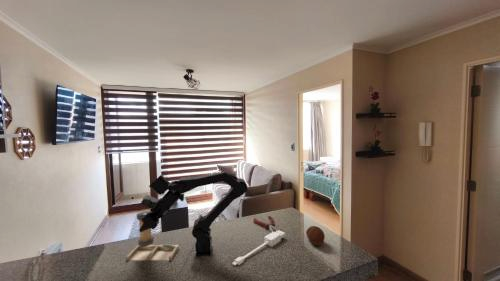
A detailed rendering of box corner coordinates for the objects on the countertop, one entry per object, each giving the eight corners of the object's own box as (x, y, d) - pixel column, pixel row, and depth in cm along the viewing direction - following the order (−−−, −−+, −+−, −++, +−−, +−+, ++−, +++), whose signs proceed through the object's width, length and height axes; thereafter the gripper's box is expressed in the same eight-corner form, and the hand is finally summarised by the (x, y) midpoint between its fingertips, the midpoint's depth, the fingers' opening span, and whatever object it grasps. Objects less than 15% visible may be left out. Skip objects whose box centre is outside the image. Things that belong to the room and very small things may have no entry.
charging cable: (229, 265, 90) (229, 257, 90) (277, 234, 113) (277, 228, 113) (238, 271, 87) (237, 263, 86) (285, 237, 110) (285, 231, 109)
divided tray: (178, 250, 100) (178, 244, 100) (171, 262, 91) (171, 255, 91) (137, 250, 100) (137, 244, 100) (126, 262, 91) (125, 255, 91)
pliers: (266, 237, 111) (266, 232, 111) (252, 221, 130) (252, 217, 130) (286, 233, 115) (286, 229, 115) (270, 219, 134) (270, 214, 134)
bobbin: (156, 239, 98) (154, 210, 97) (149, 246, 92) (148, 216, 91) (142, 239, 98) (141, 211, 97) (135, 246, 92) (133, 216, 91)
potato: (315, 235, 112) (315, 220, 111) (330, 247, 101) (330, 230, 100) (302, 237, 110) (302, 222, 109) (315, 250, 99) (315, 233, 98)
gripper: (158, 183, 103) (135, 208, 102) (145, 196, 85) (117, 226, 84) (176, 199, 105) (153, 223, 104) (168, 214, 86) (140, 244, 86)
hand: (142, 228), depth 94 cm, fingers closed on bobbin, 5 cm apart
